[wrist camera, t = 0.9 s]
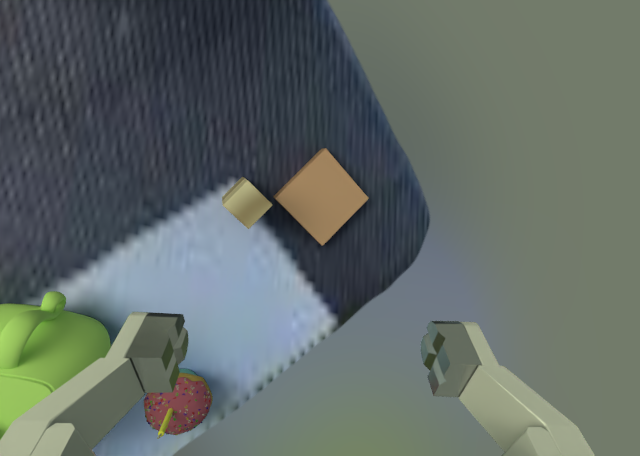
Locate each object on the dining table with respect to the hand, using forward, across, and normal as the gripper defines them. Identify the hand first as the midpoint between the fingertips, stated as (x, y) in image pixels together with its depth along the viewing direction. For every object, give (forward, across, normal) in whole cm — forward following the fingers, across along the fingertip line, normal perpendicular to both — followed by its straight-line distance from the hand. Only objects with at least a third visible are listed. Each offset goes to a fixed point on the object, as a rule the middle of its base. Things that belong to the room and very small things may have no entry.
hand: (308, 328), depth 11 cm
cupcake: (+21, +16, +40) cm, 48 cm away
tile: (+37, -2, +16) cm, 40 cm away
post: (+34, +8, +15) cm, 38 cm away
